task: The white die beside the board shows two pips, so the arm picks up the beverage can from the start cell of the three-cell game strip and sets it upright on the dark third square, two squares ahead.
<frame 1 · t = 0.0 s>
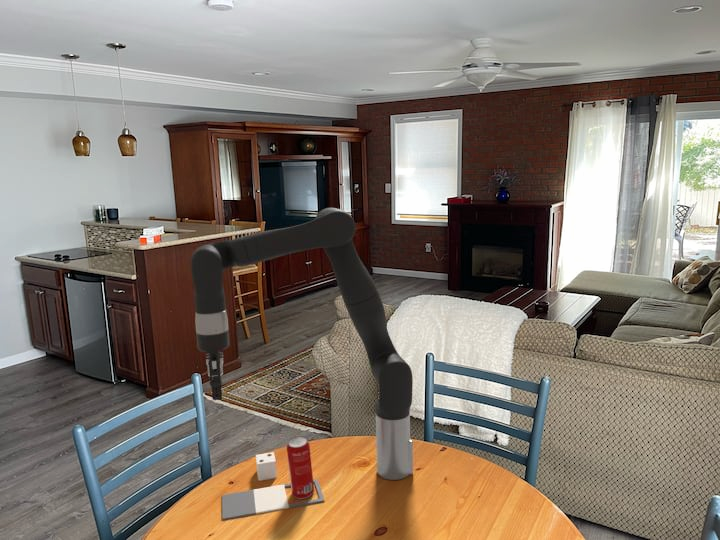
hand: (217, 392, 130), 29 cm above the table, tool pointing down, fingers open, 8 cm apart
game board: (270, 499, 136), on the table
beverage can: (301, 494, 138), resting in game board
die: (266, 474, 147), on the table
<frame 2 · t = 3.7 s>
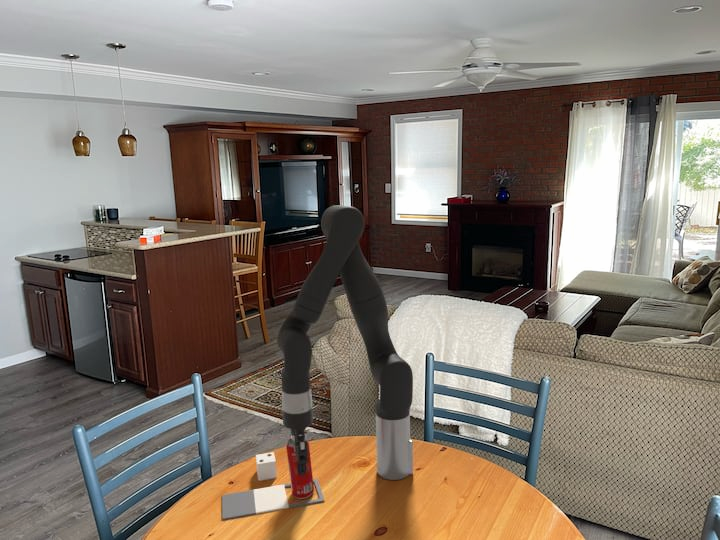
hand: (300, 467, 136), 8 cm above the table, tool pointing down, fingers closed on beverage can, 5 cm apart
beverage can: (301, 494, 138), resting in game board, touching gripper
everything else where it was.
when the fingers open (9 cm above the table, at t = 8.9 s): beverage can drops 1 cm, resting on game board.
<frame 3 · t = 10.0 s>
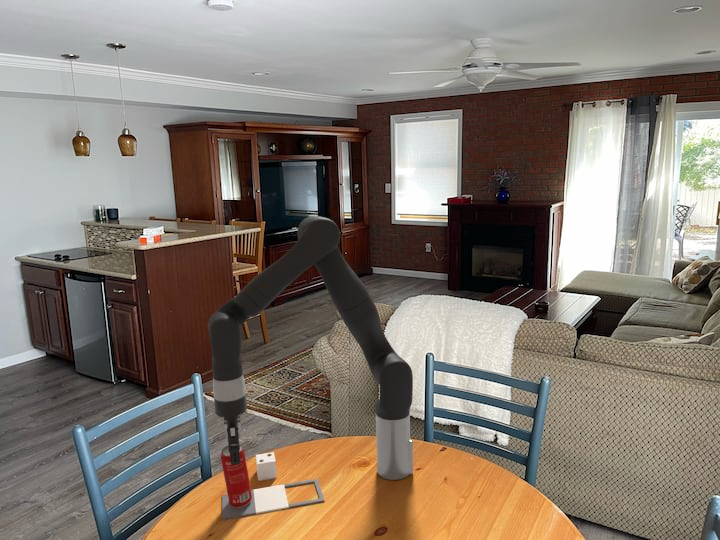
hand: (235, 455, 131), 14 cm above the table, tool pointing down, fingers open, 8 cm apart
beverage can: (239, 503, 134), resting on game board
everything else where it was.
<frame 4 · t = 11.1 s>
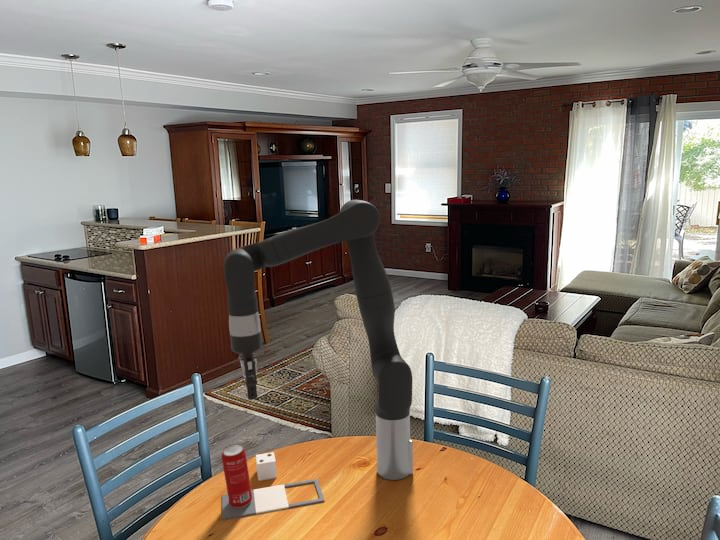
hand: (251, 392, 134), 28 cm above the table, tool pointing down, fingers open, 8 cm apart
nothing on the table moved.
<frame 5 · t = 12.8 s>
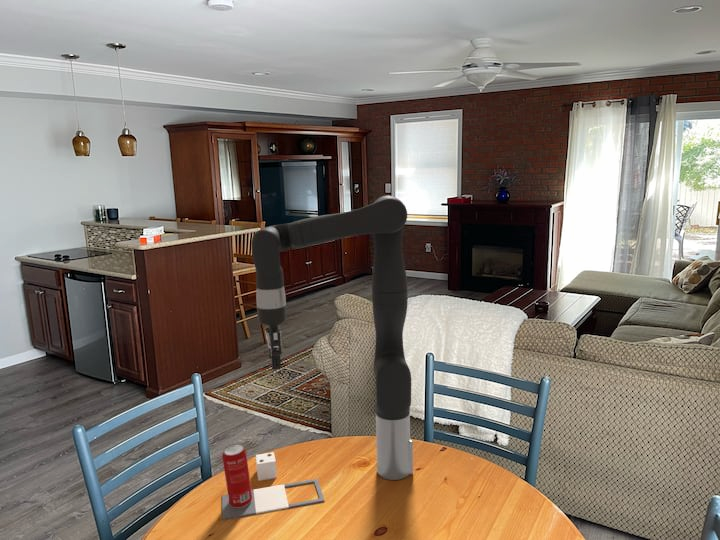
hand: (274, 363, 141), 32 cm above the table, tool pointing down, fingers open, 8 cm apart
nothing on the table moved.
at the end: beverage can 0.4 cm from the target spot on the game board, point 0.2 cm above the game board's base; beverage can tilted 0°; the gripper is holding nothing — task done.
